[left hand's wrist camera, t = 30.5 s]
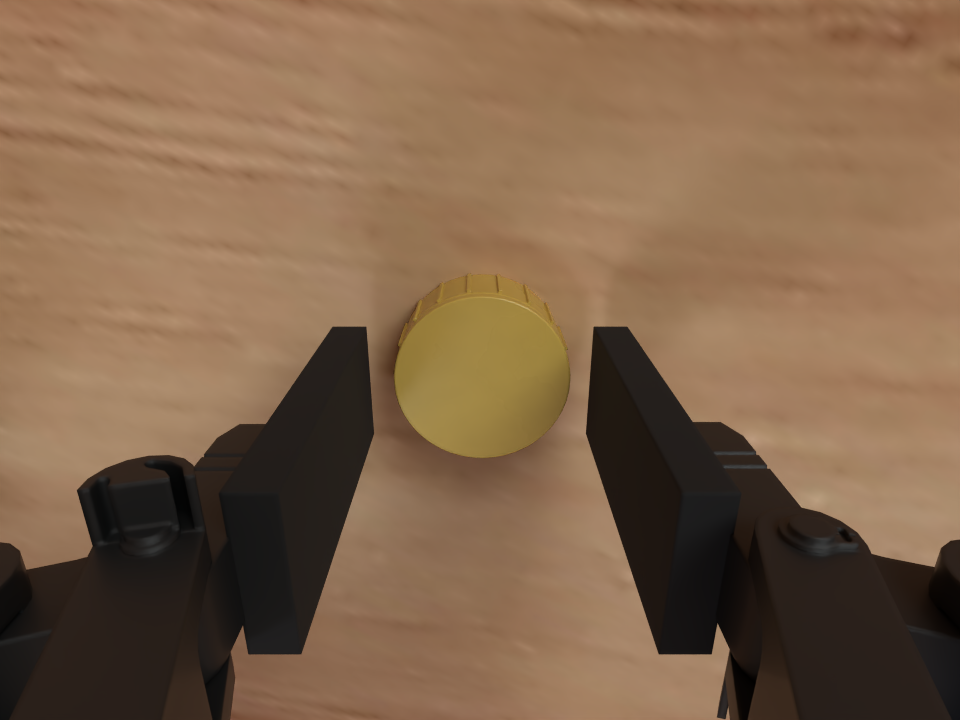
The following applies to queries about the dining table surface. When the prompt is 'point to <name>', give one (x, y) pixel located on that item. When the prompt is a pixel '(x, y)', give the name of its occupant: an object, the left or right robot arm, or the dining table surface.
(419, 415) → the cap
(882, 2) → the dining table surface
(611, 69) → the dining table surface
